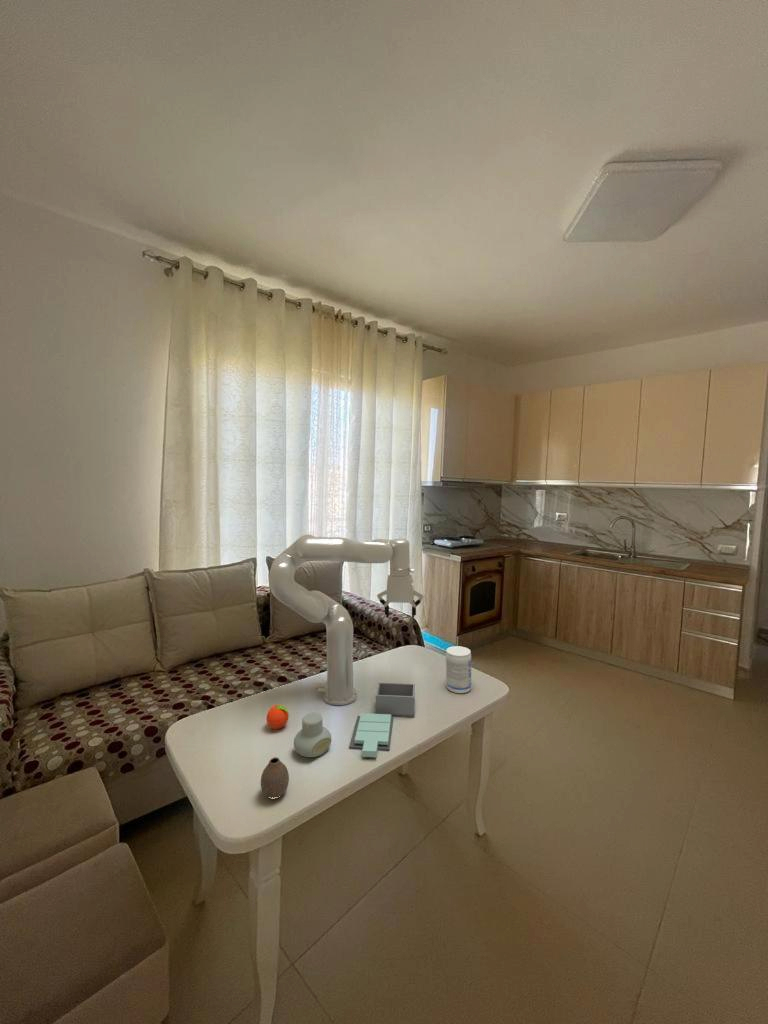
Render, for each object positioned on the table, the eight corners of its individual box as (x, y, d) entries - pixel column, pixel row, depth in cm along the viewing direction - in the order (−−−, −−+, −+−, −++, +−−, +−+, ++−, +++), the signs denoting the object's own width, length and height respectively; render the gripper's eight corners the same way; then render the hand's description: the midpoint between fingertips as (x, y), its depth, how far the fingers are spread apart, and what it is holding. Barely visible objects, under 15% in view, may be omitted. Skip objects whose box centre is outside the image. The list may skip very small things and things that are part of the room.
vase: (255, 799, 98) (254, 766, 98) (272, 780, 105) (271, 748, 104) (278, 807, 96) (277, 773, 95) (294, 787, 102) (293, 754, 102)
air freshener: (305, 766, 110) (304, 731, 109) (289, 752, 116) (288, 719, 115) (336, 747, 118) (335, 715, 117) (319, 735, 124) (318, 704, 123)
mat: (348, 748, 117) (348, 746, 117) (357, 717, 133) (357, 715, 133) (389, 750, 116) (389, 748, 116) (393, 719, 132) (393, 717, 132)
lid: (361, 717, 132) (361, 712, 132) (391, 719, 131) (391, 713, 131) (351, 756, 113) (351, 750, 113) (386, 758, 112) (386, 751, 112)
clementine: (295, 722, 130) (295, 702, 130) (285, 735, 124) (284, 713, 123) (273, 719, 132) (273, 698, 132) (262, 731, 126) (261, 710, 125)
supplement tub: (474, 693, 148) (475, 655, 147) (450, 695, 147) (450, 656, 146) (466, 680, 157) (466, 644, 156) (442, 682, 156) (443, 646, 155)
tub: (375, 715, 134) (375, 695, 134) (378, 701, 143) (378, 682, 142) (414, 717, 133) (414, 697, 132) (414, 702, 142) (414, 683, 141)
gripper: (423, 570, 151) (423, 614, 152) (378, 569, 153) (379, 613, 154) (422, 574, 144) (423, 620, 145) (375, 574, 146) (376, 619, 147)
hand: (400, 616), depth 149 cm, fingers open, 9 cm apart
